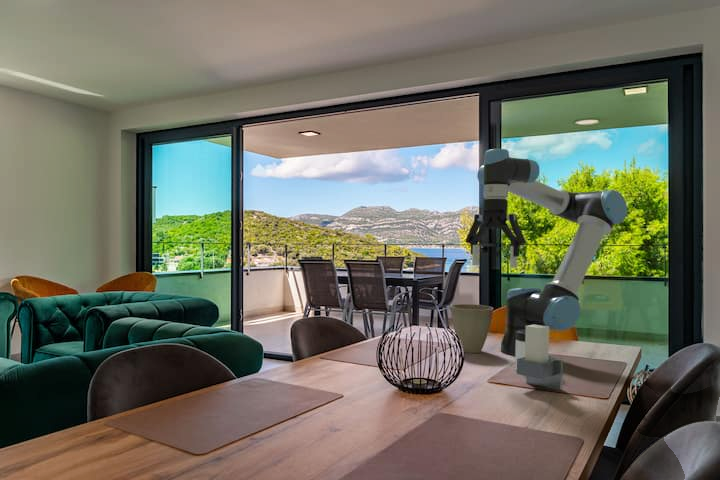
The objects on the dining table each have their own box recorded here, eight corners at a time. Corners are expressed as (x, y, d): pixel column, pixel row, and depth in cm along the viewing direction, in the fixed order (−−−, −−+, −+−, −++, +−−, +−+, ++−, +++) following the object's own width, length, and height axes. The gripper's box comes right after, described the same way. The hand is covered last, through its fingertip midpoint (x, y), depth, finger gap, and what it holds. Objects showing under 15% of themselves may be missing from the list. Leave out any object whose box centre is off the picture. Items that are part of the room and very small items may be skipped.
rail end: (532, 367, 151) (533, 324, 151) (548, 370, 148) (549, 326, 148) (524, 370, 148) (525, 326, 148) (540, 373, 145) (541, 328, 145)
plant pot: (447, 353, 191) (448, 307, 191) (452, 345, 205) (453, 303, 205) (491, 357, 187) (492, 310, 187) (493, 348, 201) (494, 305, 201)
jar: (549, 371, 168) (550, 332, 168) (534, 375, 163) (534, 335, 163) (524, 365, 175) (524, 328, 175) (508, 369, 170) (509, 330, 170)
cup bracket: (528, 382, 155) (529, 353, 155) (562, 389, 148) (563, 360, 148) (512, 387, 149) (512, 358, 149) (546, 395, 142) (547, 365, 142)
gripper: (455, 199, 179) (454, 264, 179) (525, 196, 161) (524, 268, 161) (469, 200, 184) (467, 263, 184) (538, 198, 166) (536, 268, 166)
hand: (493, 266), depth 173 cm, fingers open, 13 cm apart
